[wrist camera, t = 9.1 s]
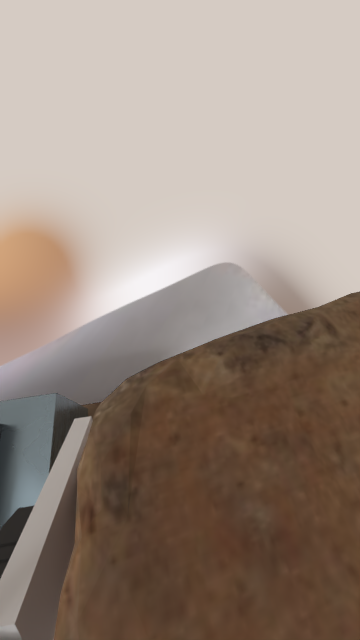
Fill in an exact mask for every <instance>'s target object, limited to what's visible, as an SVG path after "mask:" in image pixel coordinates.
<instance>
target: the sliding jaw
mask: <svg viewBox="0 0 360 640" xmlns="http://www.w3.org/2000/svg"><path fill="white" fill-rule="evenodd" d="M82 417H88V408H85V407H83V406H81V405H79V404H77V403H75V402H73V401H71V400H69V399H67V398H65V397H63V396H61V395H59V394H57V393H53V394H47V395H40V396H33V397H26V398H20V399H13V400H6V401H0V530H1V528H2V526H3V525H4V524H5V523H6V522H7V520H8V519H9V518H10V517H11V516H12V515H13V514H14V512H15V511H16V510H17V509H18V508H23V507H28V506H34V505H35V503H36V501H37V499H38V497H39V495H40V492H41V490H42V488H43V486H44V484H45V482H46V479H47V477H48V475H49V473H50V471H51V469H52V467H53V464H54V462H55V460H56V458H57V456H58V454H59V451H60V449H61V447H62V445H63V443H64V441H65V438H66V436H67V434H68V432H69V430H70V428H71V426H72V423H73V421H74V419H76V418H82Z"/></svg>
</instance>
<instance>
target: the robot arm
mask: <svg viewBox="0 0 360 640" xmlns="http://www.w3.org/2000/svg"><path fill="white" fill-rule="evenodd" d="M91 425H92V417H91V416H89V417H82V418H76V419H74V421H73V423H72V426H71V428H70V430H69V432H68V434H67V436H66V438H65V441H64V443H63V445H62V447H61V449H60V451H59V454H58V456H57V458H56V460H55V462H54V464H53V467H52V469H51V471H50V473H49V475H48V477H47V479H46V482H45V484H44V486H43V488H42V490H41V492H40V495H39V497H38V499H37V501H36V503H35V505H34V506H28V507H23V508H18V509H17V510H16V511H15V512H14V514H13V515H12V516H11V517H10V518H9V519H8V520H7V522H6V523H5V524H4V525H3V526H2V528H1V530H0V640H54V633H55V627H56V620H57V614H58V607H59V601H60V594H61V590H62V587H63V583H64V580H65V576H66V573H67V569H68V566H69V562H70V559H71V555H72V552H73V548H74V543H75V523H76V503H77V469H78V466H79V462H80V459H81V456H82V453H83V450H84V447H85V444H86V441H87V437H88V434H89V431H90V428H91Z"/></svg>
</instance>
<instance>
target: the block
mask: <svg viewBox="0 0 360 640" xmlns="http://www.w3.org/2000/svg"><path fill="white" fill-rule="evenodd" d="M54 640H360V292H356V293H351V294H349V295H346V296H344V297H341V298H339V299H337V300H335V301H332V302H330V303H327V304H325V305H322V306H320V307H317V308H313V309H310V310H305V311H302V312H298V313H294V314H290V315H286V316H282V317H278V318H275V319H271V320H269V321H266V322H263V323H260V324H257V325H255V326H252V327H249V328H246V329H243V330H240V331H238V332H235V333H232V334H229V335H226V336H223V337H221V338H218V339H215V340H213V341H210V342H208V343H206V344H203V345H201V346H198V347H196V348H193V349H191V350H188V351H186V352H183V353H181V354H178V355H176V356H174V357H171V358H169V359H166V360H164V361H161V362H159V363H157V364H155V365H153V366H151V367H149V368H147V369H145V370H143V371H141V372H139V373H137V374H135V375H133V376H131V377H129V378H127V379H126V380H125V381H124V382H123V383H122V384H121V385H120V386H119V387H118V388H116V389H115V390H114V391H113V392H112V393H111V394H110V395H109V396H108V397H107V398H106V399H105V400H104V401H103V402H102V403H101V404H100V405H99V407H98V408H97V409H96V411H95V414H94V418H93V421H92V425H91V428H90V431H89V434H88V437H87V441H86V444H85V447H84V450H83V453H82V456H81V459H80V462H79V466H78V469H77V503H76V523H75V543H74V548H73V552H72V555H71V559H70V562H69V566H68V569H67V573H66V576H65V580H64V583H63V587H62V590H61V594H60V601H59V607H58V614H57V620H56V627H55V633H54Z"/></svg>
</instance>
